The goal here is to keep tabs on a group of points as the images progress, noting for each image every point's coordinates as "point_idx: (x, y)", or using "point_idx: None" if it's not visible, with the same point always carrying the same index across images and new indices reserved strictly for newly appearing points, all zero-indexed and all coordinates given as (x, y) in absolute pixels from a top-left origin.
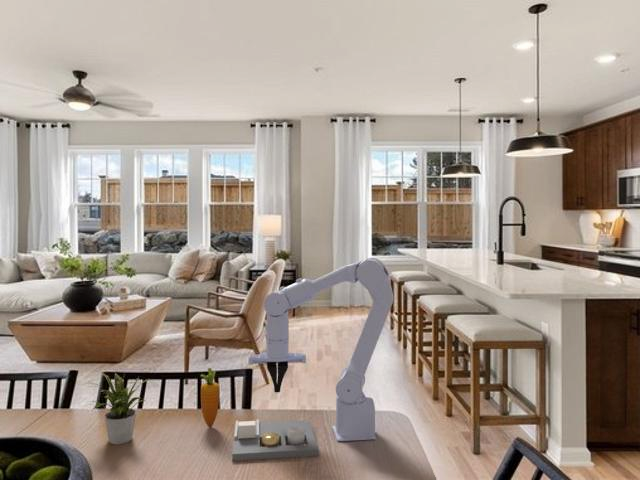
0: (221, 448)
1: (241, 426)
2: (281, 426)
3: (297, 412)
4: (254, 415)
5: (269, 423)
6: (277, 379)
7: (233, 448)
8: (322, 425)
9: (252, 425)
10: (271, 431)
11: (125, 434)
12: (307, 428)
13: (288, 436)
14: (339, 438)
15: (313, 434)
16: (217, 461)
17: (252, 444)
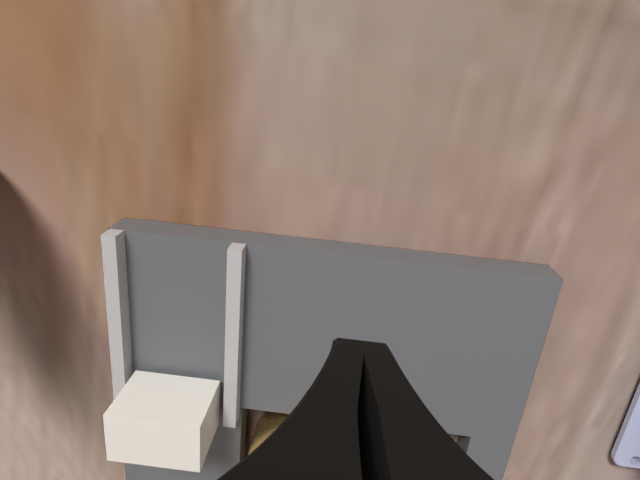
0: (84, 387)
1: (126, 460)
2: (369, 323)
3: (547, 35)
4: (233, 25)
5: (307, 272)
6: (373, 391)
7: (127, 470)
8: (622, 276)
9: (184, 468)
10: (306, 366)
11: None
12: (505, 376)
13: None
14: (627, 458)
15: (510, 442)
16: (85, 472)
17: (207, 459)
